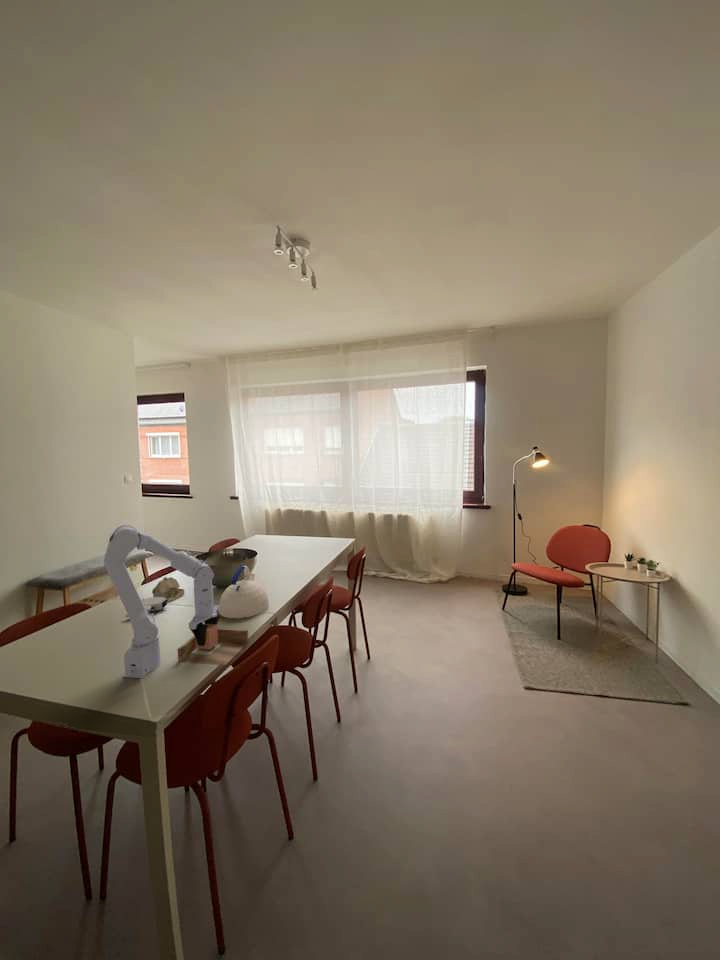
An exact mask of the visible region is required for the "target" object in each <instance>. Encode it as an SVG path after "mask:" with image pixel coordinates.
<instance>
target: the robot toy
mask: <svg viewBox="0 0 720 960" xmlns="http://www.w3.org/2000/svg"><path fill="white" fill-rule="evenodd" d="M170 599H171V598H170ZM170 599H169V601H170ZM141 601H142V603H143V605H144V607H145V608H146V610H147V612H148V613H149V614H150V615H152V616H153V617H154V616H155V611H161V610H162V609H164V608H166V606H167V605H168V604H169V603H170V602H169V601H168V602H169V603H168V602H167V599H166V598H164V597H152V596H151V597H146V598H145V597H143V598H141ZM125 617H126V618H129V615H128V613H126V614H125Z"/></svg>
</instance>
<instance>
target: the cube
mask: <svg viewBox="0 0 720 960" xmlns="http://www.w3.org/2000/svg"><path fill="white" fill-rule="evenodd" d="M203 624H204V625H208V627H207V631H206V642H205V645H204V646H198V643H197V640H196V638H195V645H196V648H198V649H211V648H212V647H213V646H214V645H215V644H216V643H217V642H218V629H217V628H218V623H217V624H205V623H203Z"/></svg>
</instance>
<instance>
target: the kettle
mask: <svg viewBox="0 0 720 960" xmlns="http://www.w3.org/2000/svg"><path fill="white" fill-rule="evenodd" d="M243 571H244V572H243ZM250 571H251V570H250V569H249V567H248V566H246V565H241V566H240V567H238V569H237V570H235V573H234V574H233V576H232V579H231V582H230V585H229V586H228V587H227V588H226V589H225V590H224V591H223V593H222V594H221V596H220V600H219V602H218V603H219V604H218V605H219V608H220V611H218V614H220V617H221V616H222V617H224V618H228V619H234V618H236V619H245V618H244V617H246V618H251V617H254V615H255V616H257V614H258V615H260V614H262V613H264V612H265V611H266V610H268V609H269V607H270V604H269V596H268V593H267V591H266V590H265V588H264V587H263V586H262V585H261V584H259V583H258V582H256V581H255V577H256V574H255V573H254V572H250ZM242 572H243V573H244V579H242V580H238V579H239V576H240V575H241V573H242ZM250 616H251V617H250Z"/></svg>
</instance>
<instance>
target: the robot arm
mask: <svg viewBox="0 0 720 960" xmlns="http://www.w3.org/2000/svg"><path fill="white" fill-rule="evenodd" d="M137 531H138V532H137ZM136 548H137V551H140V550H149V551H151V552H153V553H155V554H157V555H159V556H161V557H162V558H164V559H166V560H168V561H169V562H170V566H171V568H174V570H177V571H179V572H180V573H182V574H184V575H186V576H187V577H191V578H192V579H193V597H194V599H193V600H194V612H195V613H194V616H193V617H192V619H191V620H190V622H188V629H189V630H190V632H192V633H193V636H195V638H196V640H197V643H198V646H204V645H205V642H206V631H207V627H208V625H204V624H217V625H218V622H219V620H220V618H221V615H220V614H219V611H220V608H219V604H218V605H217V604H215V603H214V588H213V587H214V586H213V579H214V578H215V577H214V576H215V573H214V571H213V569H212V568H211V567H210V566H209V565H208V564H207V563H206V562H204V560H202V559H198V558H197V557H194V556H193V555H192V553H191V552H190V551H188V550H187V551H184V550H180V551H176V550H174V549H173V548H171V547H170V546H168V545H166V544H165V543H163V542H161V541H160V540H159V539H157V538H156V537H154V536H153V535H150V534H148V533H147V532H144V531H143V530H141V529H136V528H135V527H134V526H131V525H130V524H123V525H120V526H118V527H117V528H116V529H115V530H114V531H113V532H112V534H111V535H110V537H109V539H108V544H107V548H106V551H105V554H104V558H103V565H104V567H105V569H106V572H107V573H108V576H109V578H110V580H111V583H112V584H113V586H114V588H115V590H116V592H117V594H118V597H119V599H120V601H121V603H122V605H123V607H124V609H125V611H126V614H128V615H129V617H128V618H129V620H130V623H131V628H132V629H131V630H132V632H133V637H132V639H131V645H130V647H129V648H128V649H127V650H126V652H124V656H123V663H124V664H123V665H124V674H123V675H122V677H123V678H130V679H131V678H132V679H133V678H134V679H143V677H145V676H146V675H148V674H149V673H150V672H151V671H154V670H155V669H158V667H159V666H161V662H162V661H161V647H160V637H159V629H158V626H157V625H156V620H155V617H154V616H152V615H150V614H149V613H148V612H147V610H146V608H145V607H144V605H143V603H142V598H141V596H140V594H139V593H138V590H137V588H136V585H135V584H134V581H133V579H132V578H131V575H130V572H129V571H128V568H127V566H126V564H125V561H126V559H127V557H128V556H129V554H130V553H131V552H132V551H134V549H136ZM203 622H204V623H203Z"/></svg>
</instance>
